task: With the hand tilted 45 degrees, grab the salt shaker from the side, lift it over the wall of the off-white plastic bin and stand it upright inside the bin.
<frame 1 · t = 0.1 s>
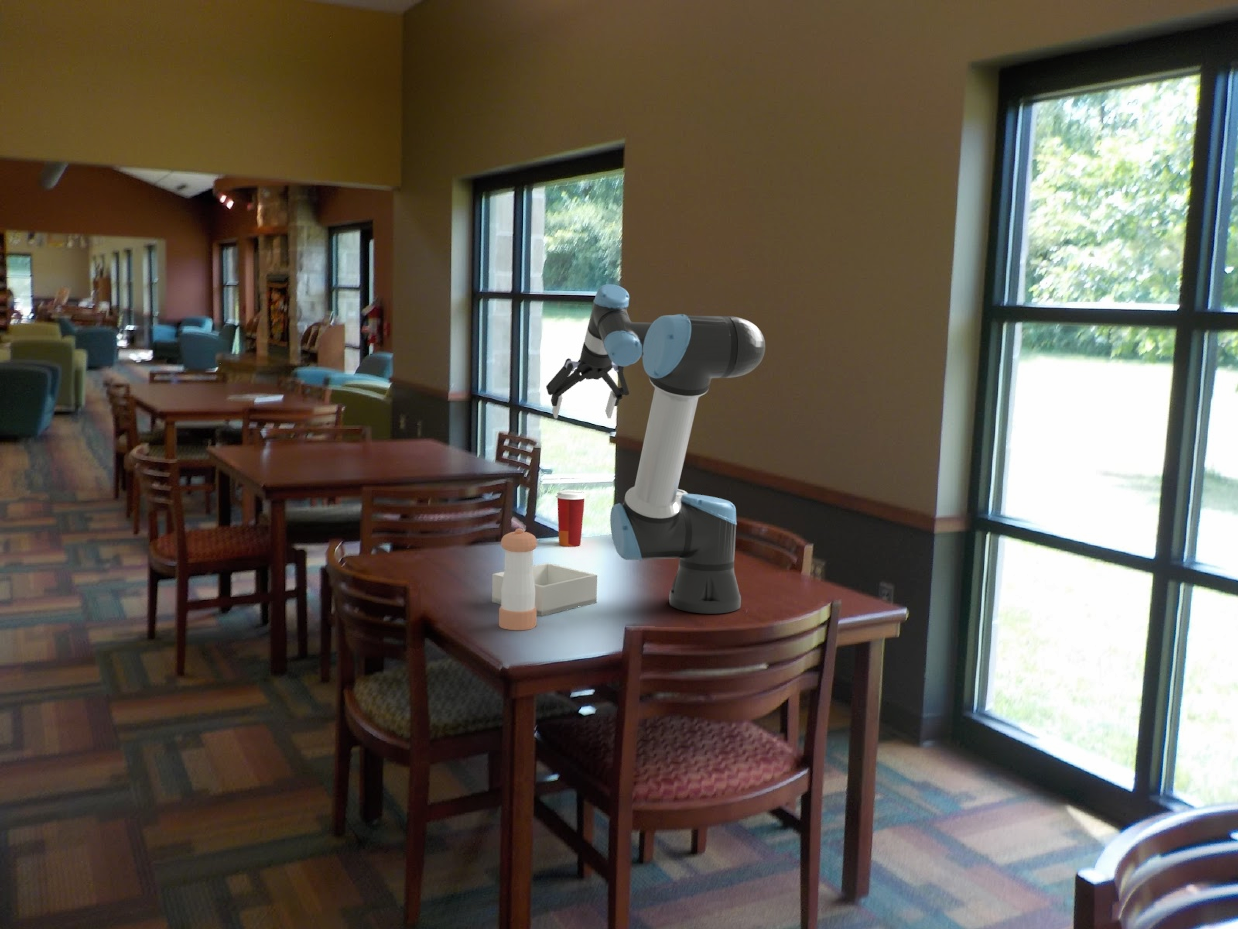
hand: (581, 414, 276), 36 cm above the table, tool tilted 35°, fingers open, 13 cm apart
disposable coffee cup: (667, 545, 301), on the table
bin: (544, 602, 239), on the table
paper cup: (569, 545, 298), on the table
salt shaker: (517, 626, 221), on the table
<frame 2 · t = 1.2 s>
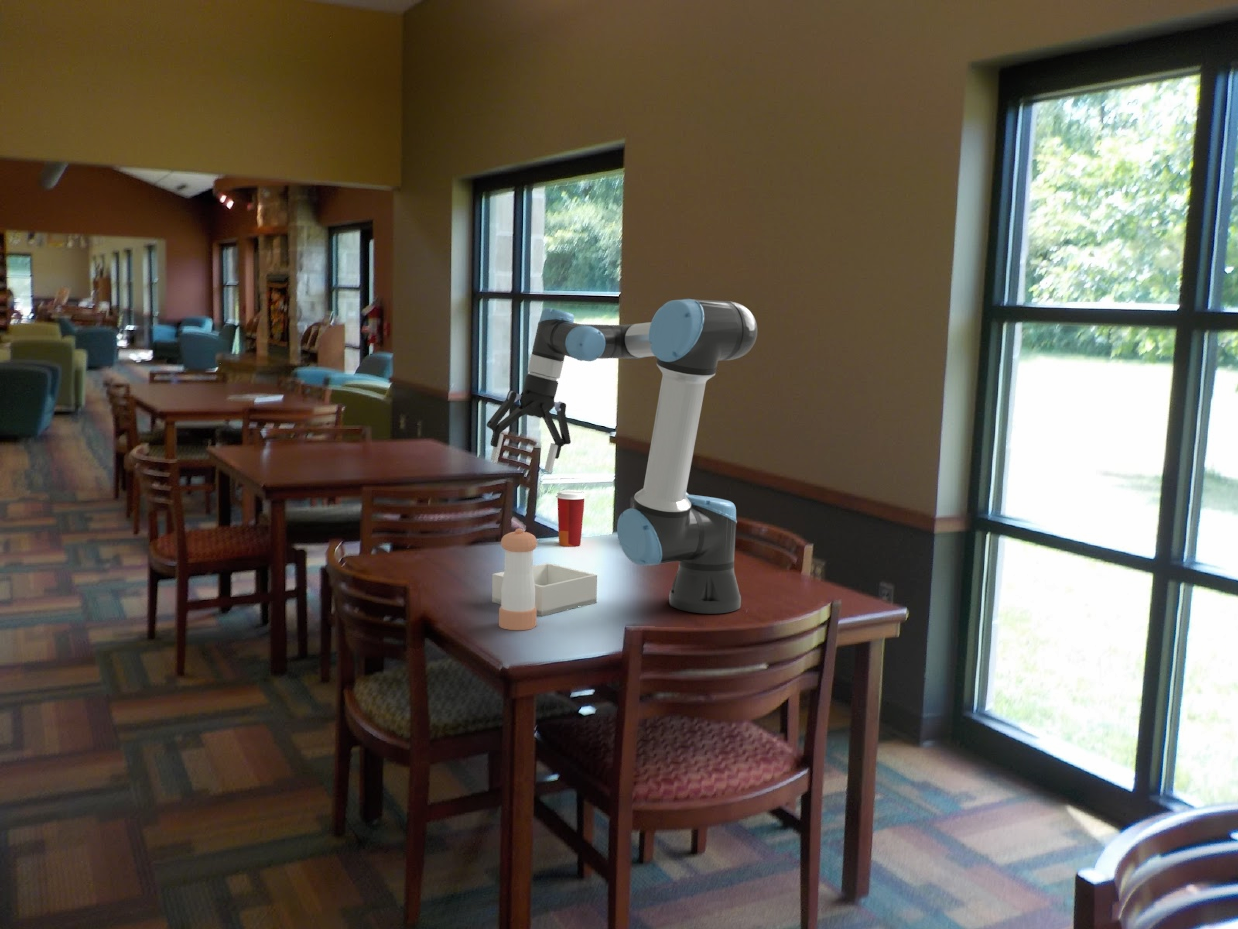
hand: (521, 466, 260), 25 cm above the table, tool pointing down, fingers open, 13 cm apart
nothing on the table moved.
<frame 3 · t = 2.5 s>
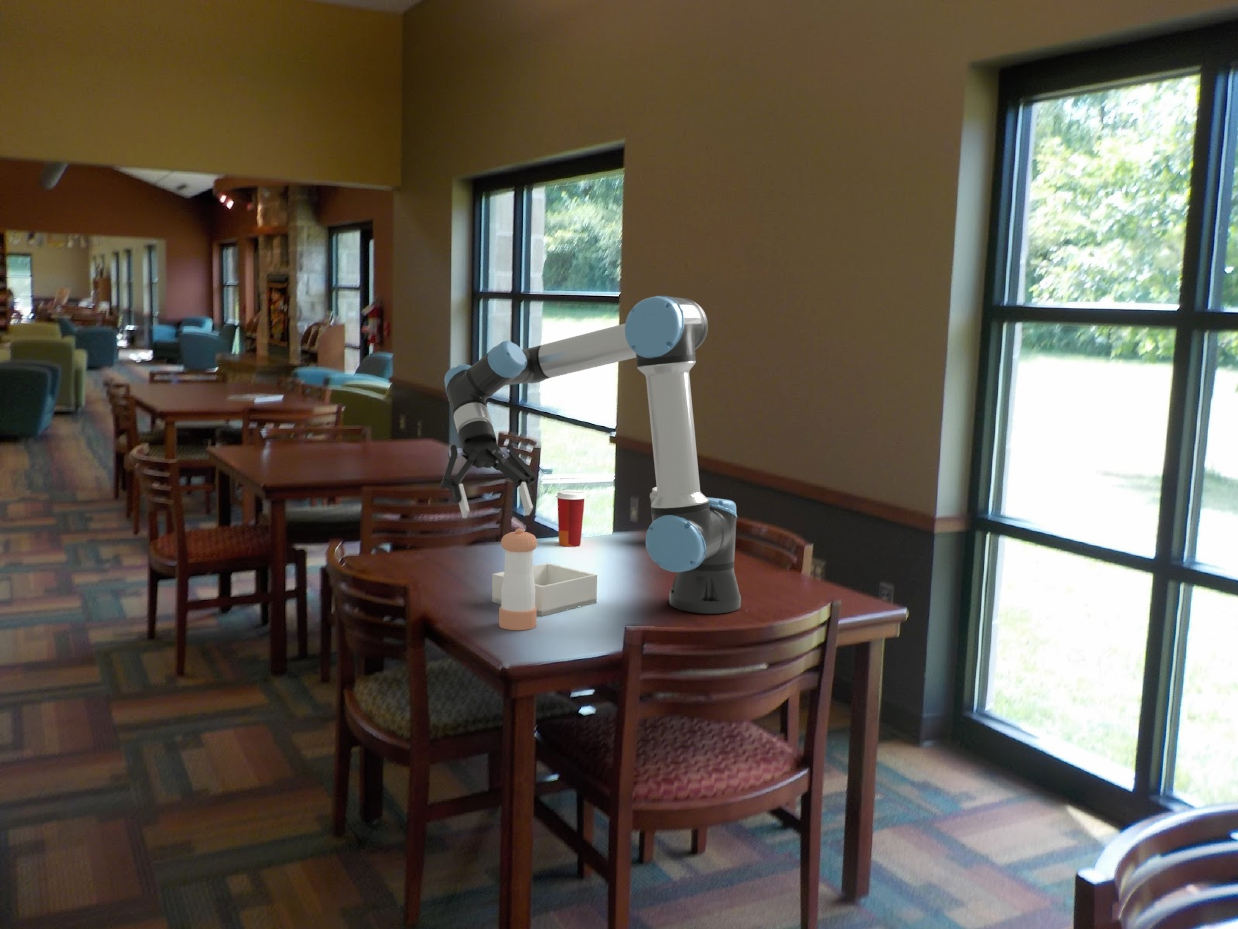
hand: (498, 513, 228), 20 cm above the table, tool tilted 45°, fingers open, 13 cm apart
nothing on the table moved.
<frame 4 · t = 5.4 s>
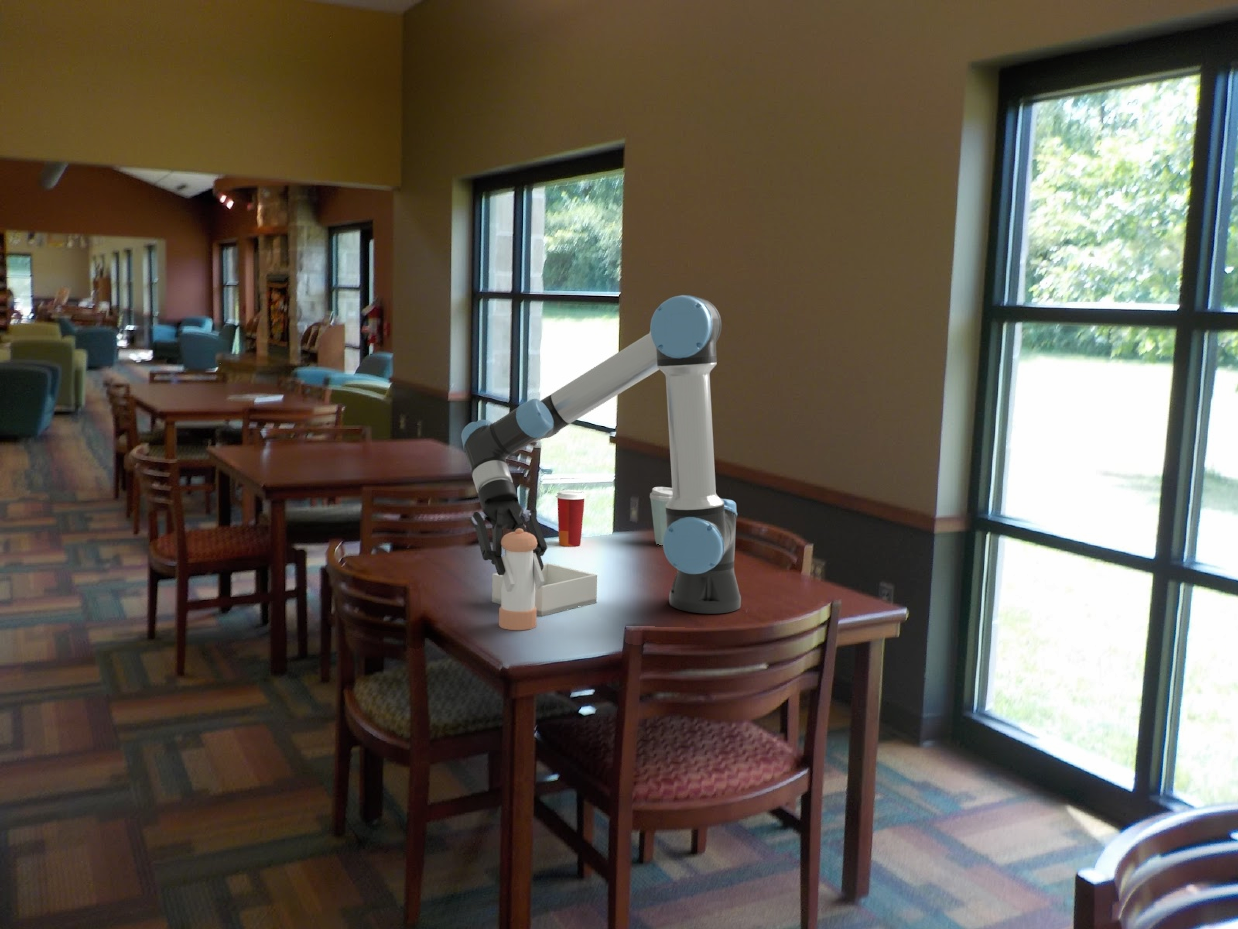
hand: (525, 586, 216), 9 cm above the table, tool tilted 45°, fingers closed on salt shaker, 5 cm apart
salt shaker: (517, 626, 221), on the table, touching gripper
everything else where it was.
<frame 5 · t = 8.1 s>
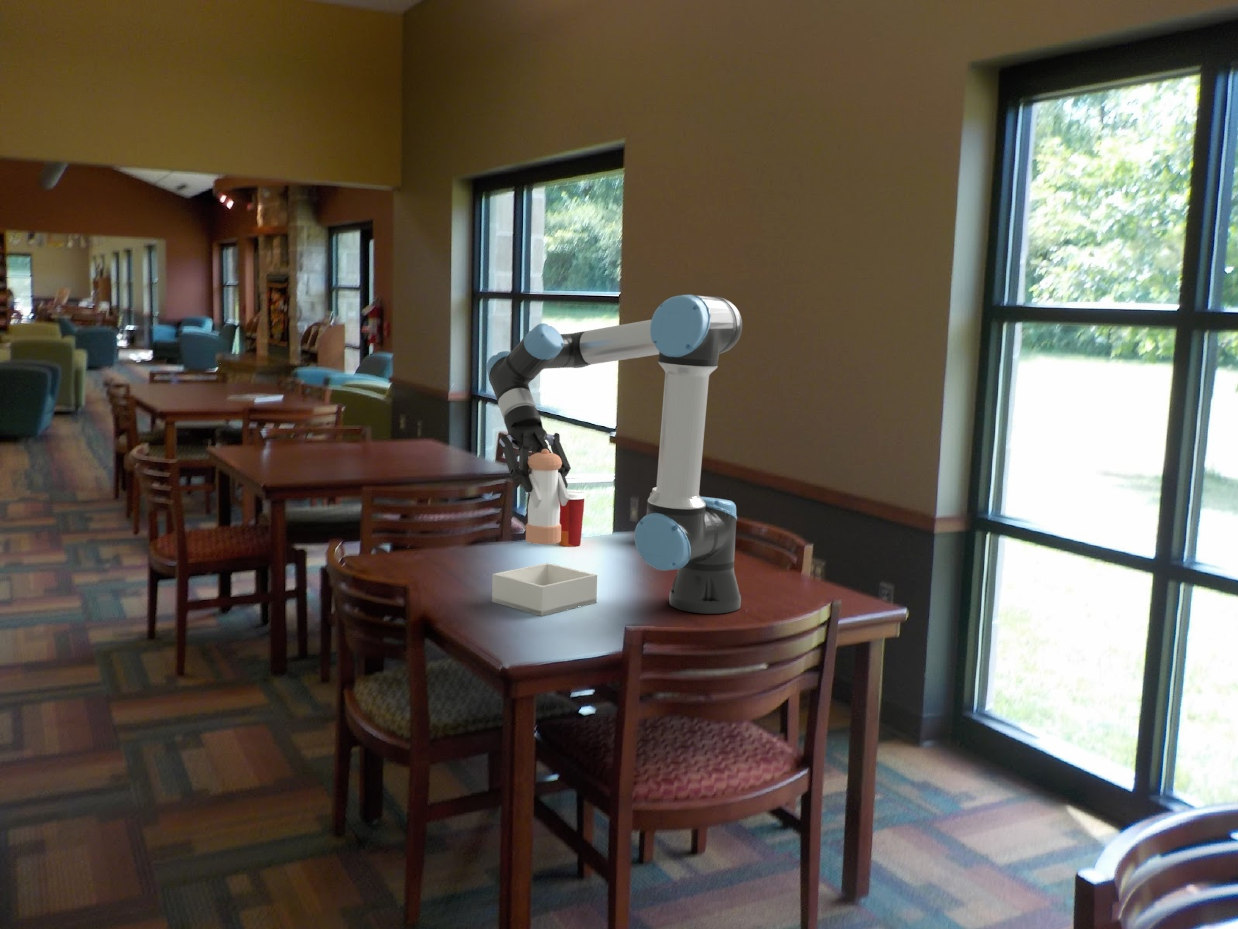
hand: (552, 502, 231), 22 cm above the table, tool tilted 45°, fingers closed on salt shaker, 5 cm apart
salt shaker: (543, 541, 235), point 13 cm above the table, touching gripper
everything else where it was.
when the fingers open (10 cm above the table, at t = 10.9 s): salt shaker stays where it is, resting on bin.
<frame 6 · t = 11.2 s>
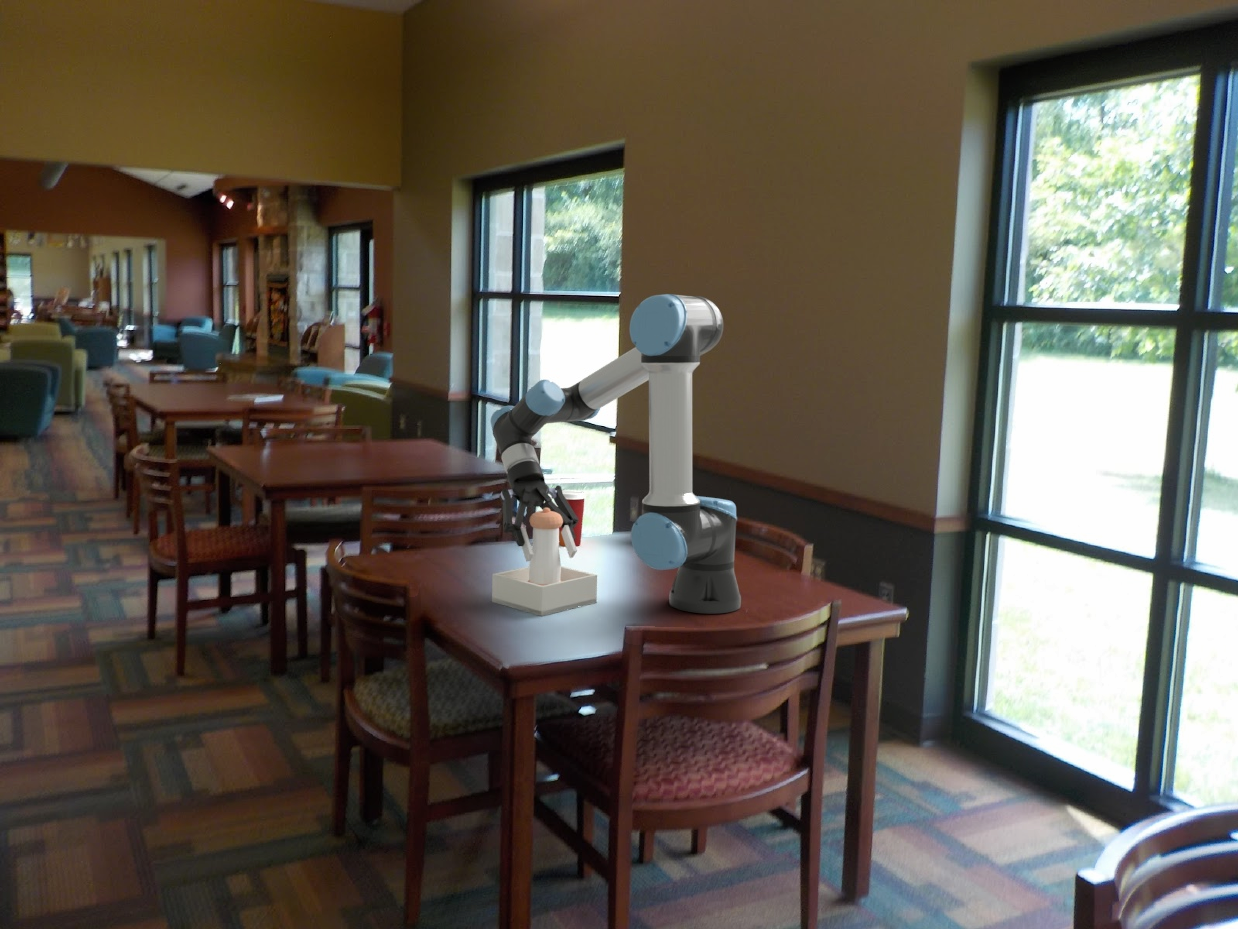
hand: (551, 556, 234), 11 cm above the table, tool tilted 45°, fingers open, 9 cm apart
salt shaker: (544, 598, 238), point 1 cm above the table, touching bin
everything else where it was.
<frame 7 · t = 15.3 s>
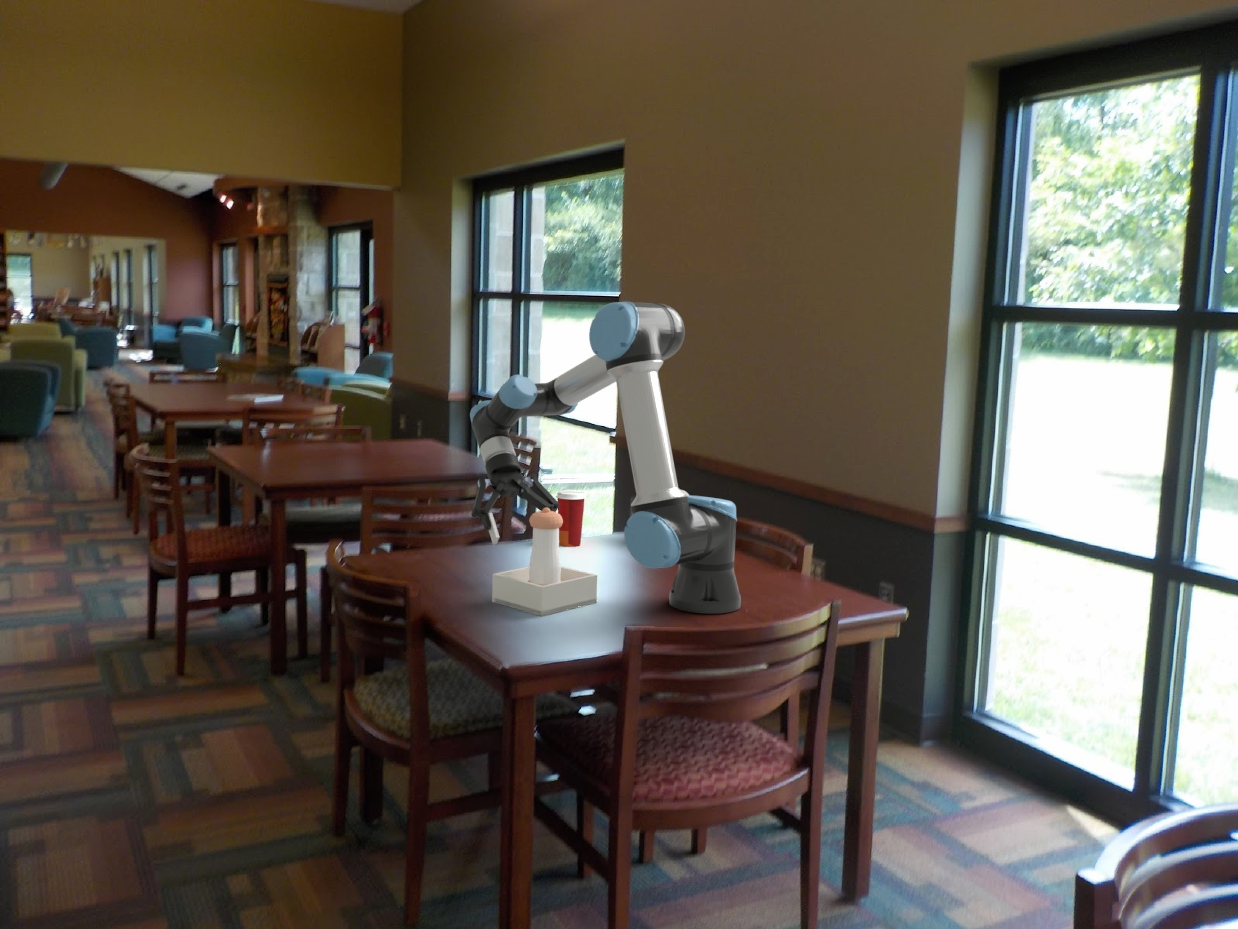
hand: (525, 539, 246), 12 cm above the table, tool tilted 45°, fingers open, 13 cm apart
nothing on the table moved.
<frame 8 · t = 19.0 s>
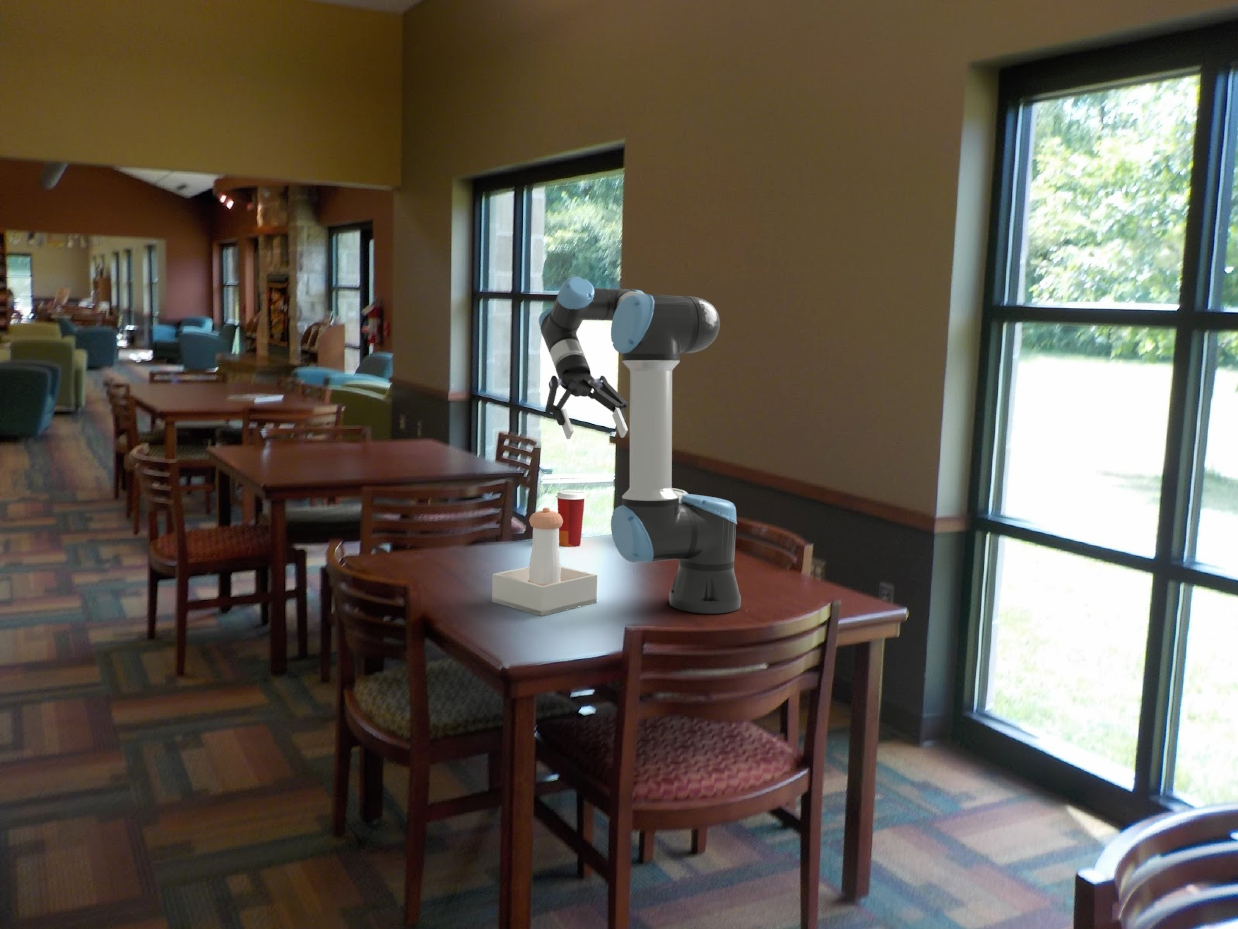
hand: (597, 434, 253), 34 cm above the table, tool tilted 45°, fingers open, 13 cm apart
nothing on the table moved.
at the end: salt shaker inside the target area on the bin (0.1 cm from its centre), point 0.8 cm above the bin's base; salt shaker tilted 0°; the gripper is holding nothing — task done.
